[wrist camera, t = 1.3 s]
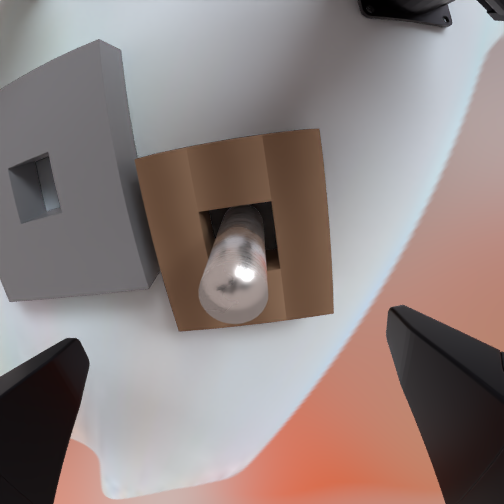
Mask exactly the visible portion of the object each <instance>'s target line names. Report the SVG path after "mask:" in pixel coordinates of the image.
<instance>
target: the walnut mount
mask: <svg viewBox="0 0 504 504" xmlns="http://www.w3.org/2000/svg"><path fill="white" fill-rule="evenodd" d="M134 160H135V165H136V170H137V174H138V179H139V184H140V189H141V193H142V198H143V202H144V207H145V211H146V215H147V219H148V224H149V228H150V232H151V236H152V240H153V244H154V247H155V251H156V255H157V259H158V262H159V266H160V270H161V273H162V277H163V280H164V284H165V287H166V291H167V294H168V298H169V301H170V304H171V308H172V311H173V314H174V317H175V321H176V324H177V327H178V330H179V331H191V330H203V329H214V328H224V327H234V326H243V325H252V324H261V323H269V322H277V321H284V320H292V319H299V318H306V317H313V316H320V315H326V314H333V313H334V308H333V280H332V260H331V243H330V229H329V216H328V204H327V193H326V183H325V173H324V163H323V155H322V146H321V138H320V130H319V129H303V130H294V131H285V132H277V133H269V134H261V135H254V136H247V137H241V138H234V139H228V140H222V141H216V142H211V143H205V144H200V145H195V146H190V147H185V148H180V149H175V150H170V151H166V152H161V153H157V154H152V155H149V156H145V157H141V158H138V159H134ZM269 201H271V207H272V214H273V221H274V229H275V236H276V244H277V248H276V249H269V250H265V254H266V268H267V283H268V301H267V304H266V306H265V308H264V310H263V311H262V312H261V314H259V315H258V316H257V317H256V318H254V319H253V320H251V321H248V322H245V323H241V324H229V323H224V322H221V321H218V320H216V319H215V318H213V317H212V316H210V315H209V314H208V313H207V312H206V311H205V310H204V308H203V307H202V305H201V303H200V300H199V285H200V282H201V279H202V276H203V273H204V270H205V267H206V265H207V262H208V259H209V256H210V253H211V250H212V248H213V245H214V242H215V237H214V232H213V227H212V222H211V216H210V211H209V210H214V209H220V208H227V207H234V206H240V205H247V204H254V203H261V202H269Z"/></svg>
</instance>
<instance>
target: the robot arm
mask: <svg viewBox="0 0 504 504" xmlns="http://www.w3.org/2000/svg"><path fill="white" fill-rule="evenodd" d="M453 1H455V0H358V3H359V7H360V11H361V13H362V14H363V15H364V16H365V17H367V18H375V19H388V20H399V21H407V22H415V23H422V24H429V25H435V26H441V27H448V26H450V25H452V19H451V15H450V11H449V8H448V4H449V3H451V2H453ZM477 1H478V2H479V3H480V4H481V5H482V6H483V7H484V8H485V9H486V10H487V13H488V14H489V15H490V16H491V17H492V18H493V19H494V20H497V21H504V0H477ZM366 8H370V9H371V10H372V13H370V12H368V11H367V9H366ZM443 18H444V19H445V20H446V22H445V21H444V20H443ZM386 337H387V342H388V345H389V348H390V351H391V354H392V358H393V361H394V364H395V367H396V371H397V374H398V377H399V381H400V384H401V387H402V389H403V392H404V394H405V396H406V399H407V401H408V403H409V406H410V408H411V411H412V413H413V416H414V418H415V421H416V423H417V426H418V428H419V431H420V433H421V436H422V438H423V441H424V444H425V446H426V449H427V451H428V454H429V457H430V459H431V462H432V465H433V468H434V471H435V474H436V476H437V479H438V482H439V485H440V488H441V491H442V494H443V497H444V500H445V503H446V504H504V352H500V350H498V349H496V348H494V347H492V346H490V345H487V344H486V343H483V342H481V341H479V340H477V339H475V338H473V337H471V336H469V335H467V334H465V333H462V332H460V331H458V330H456V329H454V328H452V327H450V326H448V325H446V324H443V323H441V322H439V321H437V320H435V319H433V318H431V317H428V316H426V315H424V314H422V313H420V312H418V311H416V310H413V309H411V308H409V307H407V306H405V305H400V306H395V307H391V308H390V309H389V311H388V319H387V330H386ZM88 370H89V359H88V356H87V354H86V352H85V350H84V348H83V346H82V344H81V342H80V341H79V340H78V339H77V338H66V339H64V340H62V341H60V342H59V343H57V344H55V345H54V346H52V347H50V348H48V349H47V350H45V351H43V352H41V353H40V354H38V355H36V356H35V357H33V358H31V359H30V360H28V361H26V362H24V363H23V364H21V365H19V366H18V367H16V368H14V369H13V370H11V371H9V372H7V373H6V374H4V375H2V376H1V377H0V504H53V503H54V498H55V494H56V489H57V485H58V481H59V477H60V473H61V469H62V465H63V462H64V458H65V454H66V450H67V447H68V444H69V440H70V437H71V433H72V430H73V427H74V424H75V420H76V417H77V414H78V411H79V408H80V404H81V400H82V395H83V391H84V387H85V382H86V378H87V374H88Z"/></svg>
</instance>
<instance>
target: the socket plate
mask: <svg viewBox="0 0 504 504" xmlns="http://www.w3.org/2000/svg"><path fill="white" fill-rule="evenodd" d="M48 156H49V158H50V164H51V168H52V173H53V178H54V182H55V187H56V191H57V195H58V199H59V203H60V208H56V209H52V210H49V211H46V208H45V204H44V200H43V196H42V192H41V187H40V183H39V178H38V174H37V169H36V164H35V161H38V160H40V159H43V158H45V157H48ZM134 159H137V153H136V148H135V143H134V137H133V131H132V125H131V119H130V113H129V107H128V100H127V94H126V87H125V79H124V71H123V63H122V55H121V50H120V49H118V48H116V47H114V46H112V45H110V44H108V43H106V42H104V41H102V40H100V39H98V40H96V41H93V42H91V43H88V44H86V45H84V46H81V47H79V48H77V49H75V50H72V51H70V52H68V53H66V54H64V55H62V56H59V57H57V58H55V59H53V60H51V61H49V62H47V63H45V64H44V65H42V66H40V67H38V68H36V69H34V70H32V71H31V72H29V73H27V74H25V75H23V76H22V77H20V78H18V79H17V80H15V81H13V82H12V83H10V84H8V85H7V86H5V87H3V88H2V89H0V279H1V282H2V285H3V287H4V290H5V292H6V294H7V297H8V299H9V302H17V301H29V300H40V299H51V298H62V297H73V296H83V295H94V294H104V293H113V292H123V291H132V290H142V289H149V288H150V286H151V285H152V283H153V281H154V280H155V278H156V276H157V275H158V273H159V272H160V266H159V262H158V259H157V255H156V251H155V247H154V244H153V240H152V236H151V232H150V228H149V224H148V219H147V215H146V211H145V207H144V202H143V198H142V193H141V189H140V184H139V179H138V174H137V170H136V165H135V160H134Z"/></svg>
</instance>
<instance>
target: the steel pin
mask: <svg viewBox="0 0 504 504" xmlns="http://www.w3.org/2000/svg"><path fill="white" fill-rule="evenodd" d="M199 300H200V303H201V305H202V307H203V308H204V310H205V311H206V312H207V313H208V314H209V315H210V316H212V317H213V318H215V319H216V320H218V321H221V322H224V323H229V324H241V323H245V322H248V321H251V320H253V319H254V318H256V317H257V316H258V315H259V314H261V312H262V311H263V310H264V308H265V306H266V304H267V301H268V283H267V268H266V254H265V240H264V226H263V218H262V216H261V214H260V212H259V211H258V210H257V209H256V208H254V207H253V206H250V205H240V206H234V207H231V208H230V209H229V210H228V211H227V212H226V213H225V215H224V217H223V220H222V223H221V225H220V228H219V231H218V234H217V236H216V239H215V242H214V245H213V248H212V250H211V253H210V256H209V259H208V262H207V265H206V267H205V270H204V273H203V276H202V279H201V282H200V285H199Z"/></svg>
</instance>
